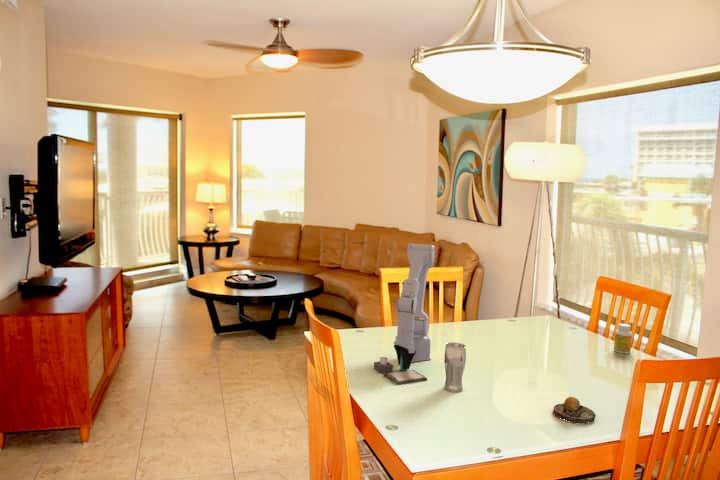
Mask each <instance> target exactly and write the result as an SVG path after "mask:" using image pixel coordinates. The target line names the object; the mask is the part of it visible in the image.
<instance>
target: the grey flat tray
mask: <svg viewBox="0 0 720 480" xmlns="http://www.w3.org/2000/svg"><path fill="white" fill-rule="evenodd" d="M383 376H384V378H386V379H387V380H389V381H390V382H392V383H393V384H395V385H396V386H398V385H406V384H411V383H420V382H425V381H428V378H427V377H426V376H424V375H423V374H421V373H419V372H418V371H416V370H415V369H407V371H395V372H394V371H393V372H389V373H383Z"/></svg>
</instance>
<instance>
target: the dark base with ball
mask: <svg viewBox="0 0 720 480" xmlns="http://www.w3.org/2000/svg"><path fill="white" fill-rule="evenodd" d="M552 413H553V414H555V415H556V416H557V418H558V419H559V418H561V419H565V420H567V421H570V422H573V423H572V424H576V423H588V422H592V423H594V422H595V419H596V413H595V412H594V411H593V410H592V409H590V408H589V407H587V406H584V405H581V403H580V401H579V399H578V398H576V397H574V396H571V395H570V394H569V397H567V398H565V399H564V401H563V403H558V404H556V405H554V406H553V411H552ZM555 415H554V416H555ZM556 416H555V417H556ZM561 419H560V420H561ZM567 421H566V422H567ZM593 421H594V422H593ZM570 422H569V423H570Z"/></svg>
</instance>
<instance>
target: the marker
mask: <svg viewBox="0 0 720 480" xmlns="http://www.w3.org/2000/svg"><path fill="white" fill-rule="evenodd" d="M401 371H408V369H403V364H402V356H401V361H400V365H399V372H401Z"/></svg>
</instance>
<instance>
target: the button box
mask: <svg viewBox="0 0 720 480" xmlns="http://www.w3.org/2000/svg"><path fill="white" fill-rule="evenodd" d="M373 370H374V371H376V372H377V373H379V374H382V375H383V374H386V373H393V372H394V364H392V363H391V362H389V361H388V363H387V365H382V366H381V365H380V360H379V361H374V362H373Z"/></svg>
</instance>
